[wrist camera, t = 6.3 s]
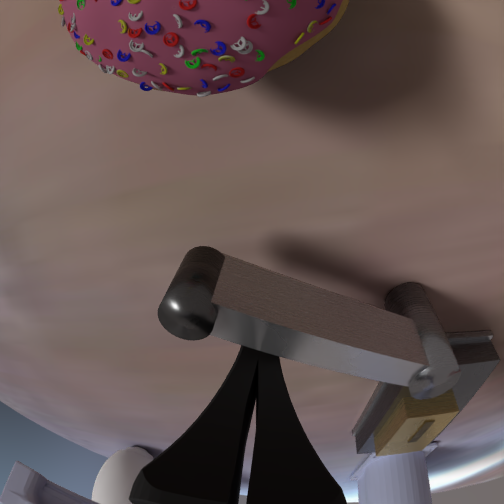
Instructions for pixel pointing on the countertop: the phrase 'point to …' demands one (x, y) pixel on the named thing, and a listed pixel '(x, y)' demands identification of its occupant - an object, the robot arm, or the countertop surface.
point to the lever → (311, 322)
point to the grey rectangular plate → (472, 377)
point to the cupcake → (196, 39)
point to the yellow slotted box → (415, 424)
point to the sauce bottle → (119, 476)
